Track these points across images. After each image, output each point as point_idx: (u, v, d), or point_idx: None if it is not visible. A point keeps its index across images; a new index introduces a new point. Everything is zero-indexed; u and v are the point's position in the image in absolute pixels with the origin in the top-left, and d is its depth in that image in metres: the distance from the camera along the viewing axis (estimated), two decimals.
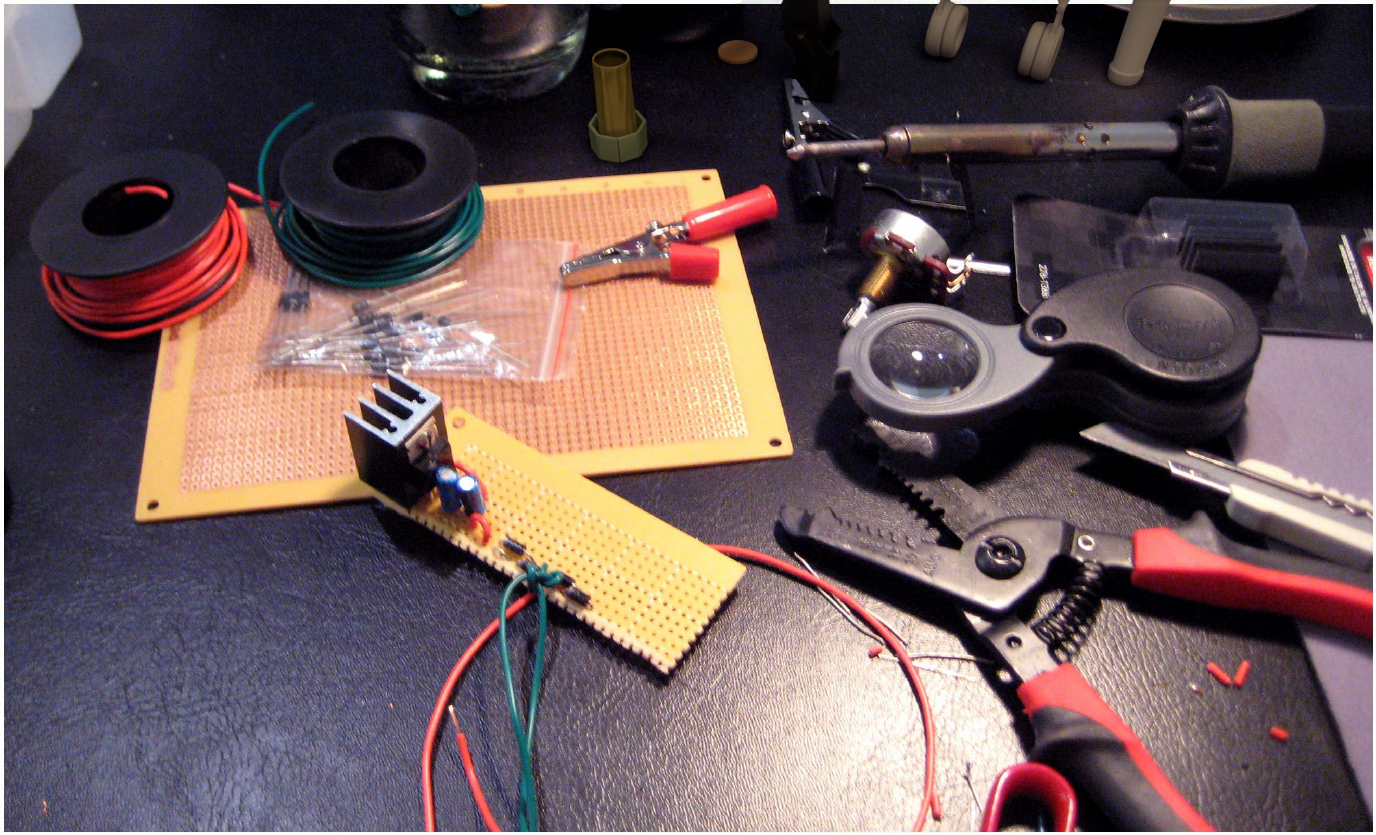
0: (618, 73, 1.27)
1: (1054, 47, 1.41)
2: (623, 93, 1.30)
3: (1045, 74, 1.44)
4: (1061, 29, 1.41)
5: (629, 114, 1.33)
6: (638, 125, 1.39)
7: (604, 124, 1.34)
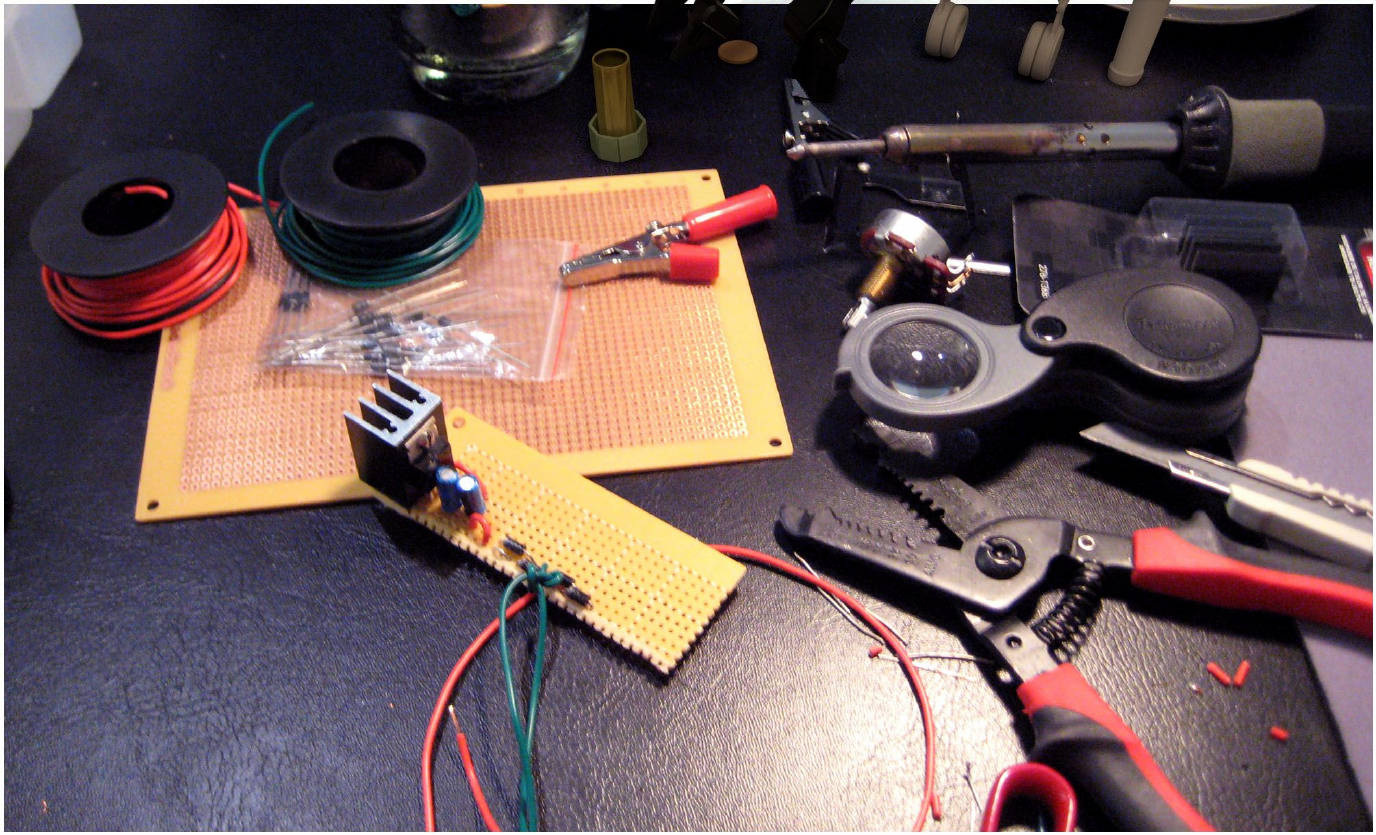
0: (618, 73, 1.27)
1: (1054, 47, 1.41)
2: (623, 93, 1.30)
3: (1045, 74, 1.44)
4: (1061, 29, 1.41)
5: (629, 114, 1.33)
6: (638, 125, 1.39)
7: (604, 124, 1.34)
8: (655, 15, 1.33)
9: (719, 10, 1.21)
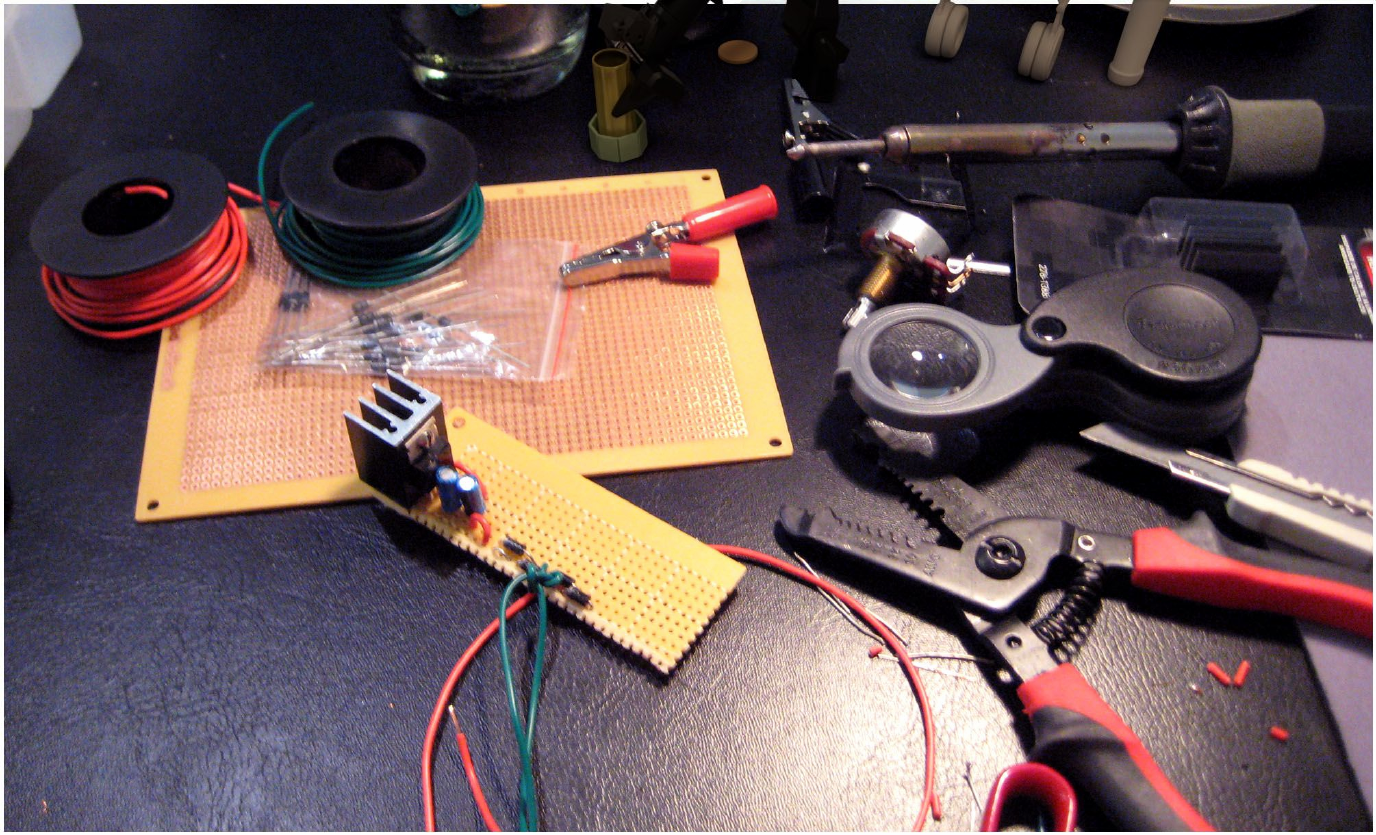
0: (618, 73, 1.27)
1: (1054, 47, 1.41)
2: None
3: (1045, 74, 1.44)
4: (1061, 29, 1.41)
5: (629, 114, 1.33)
6: (638, 125, 1.39)
7: (604, 124, 1.34)
8: None
9: (665, 77, 1.23)
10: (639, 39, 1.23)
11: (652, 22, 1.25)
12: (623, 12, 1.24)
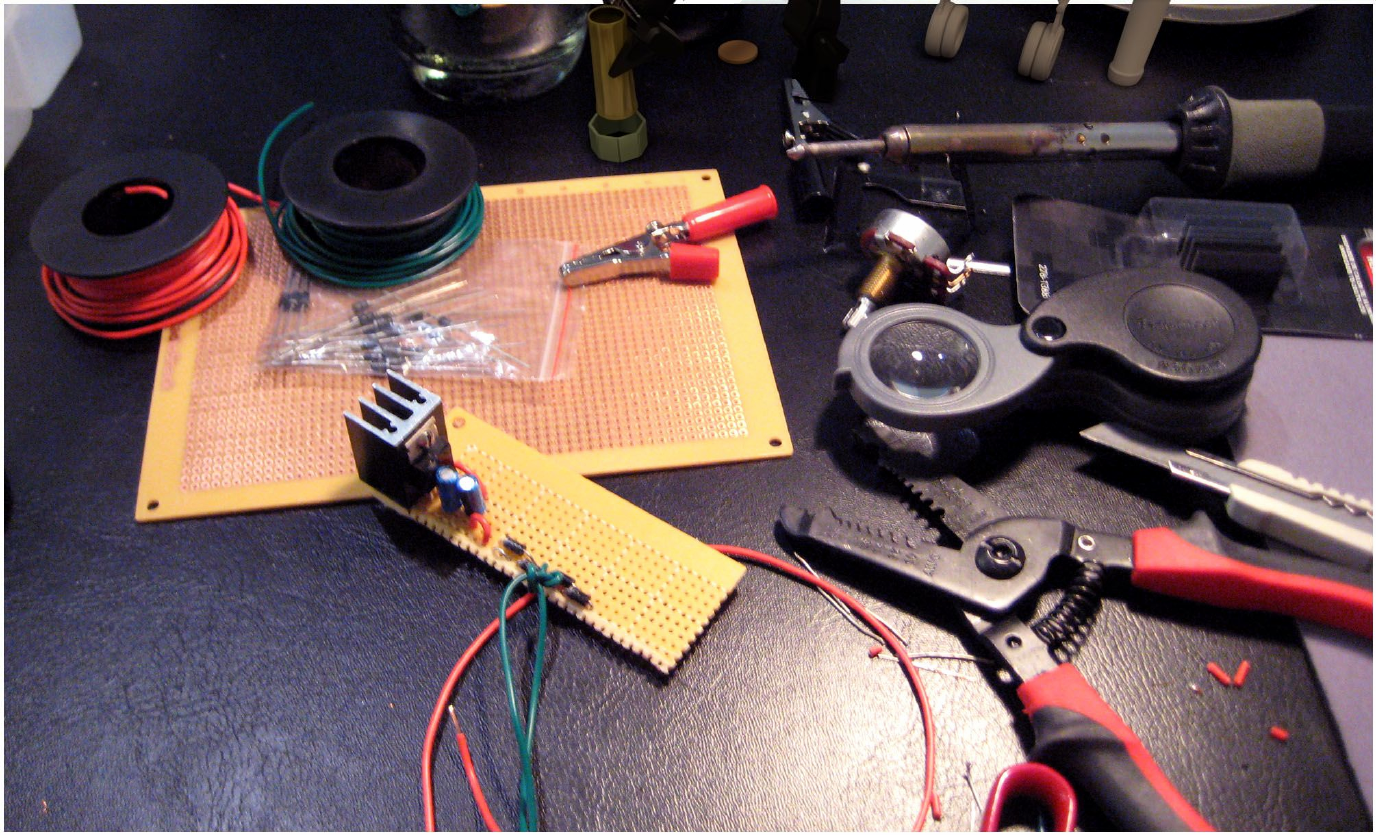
0: (614, 30, 1.23)
1: (1054, 47, 1.41)
2: None
3: (1045, 74, 1.44)
4: (1061, 29, 1.41)
5: (627, 74, 1.28)
6: (638, 125, 1.39)
7: (601, 85, 1.29)
8: None
9: (663, 32, 1.18)
10: None
11: None
12: None
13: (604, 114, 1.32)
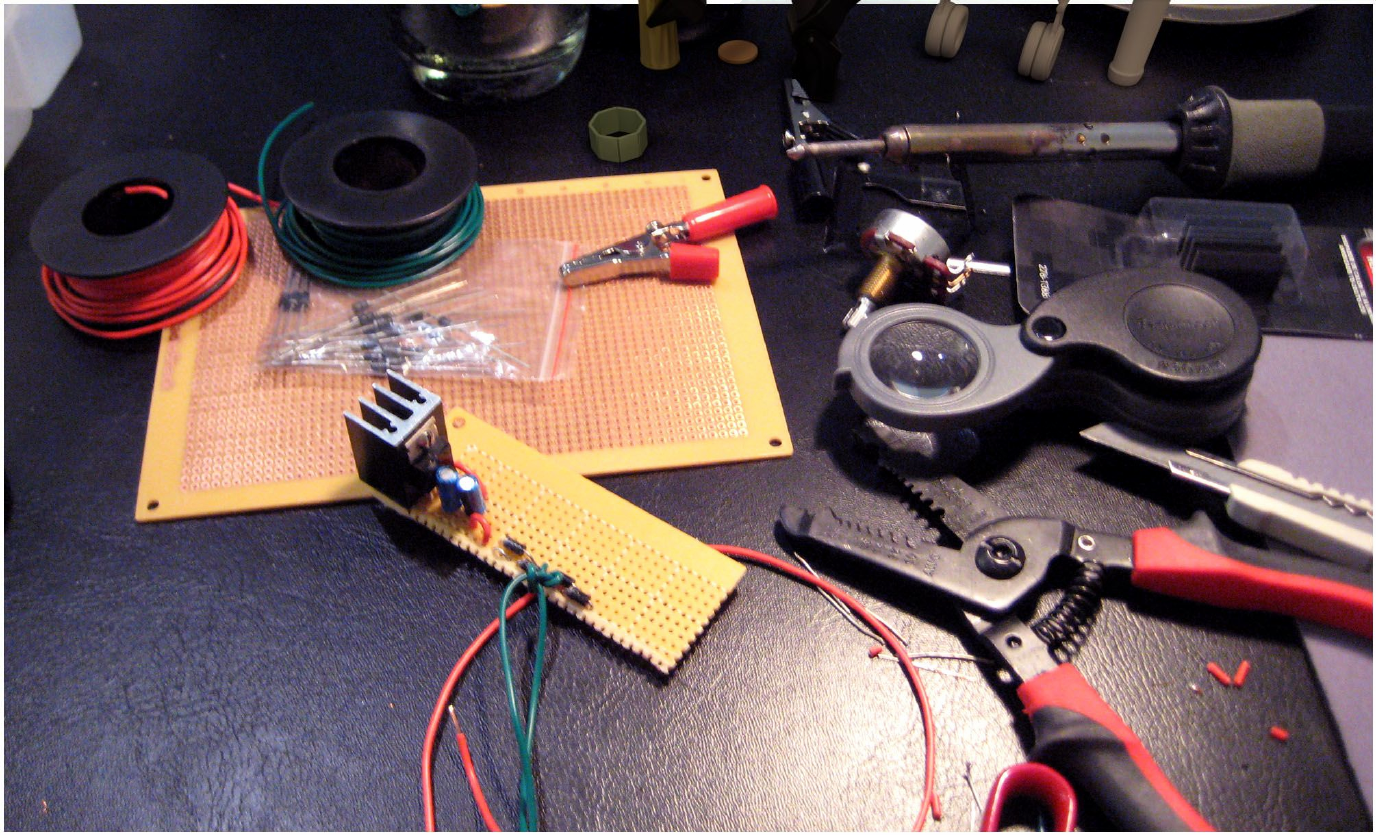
0: None
1: (1054, 47, 1.41)
2: None
3: (1045, 74, 1.44)
4: (1061, 29, 1.41)
5: (665, 27, 1.36)
6: (638, 125, 1.39)
7: (642, 33, 1.38)
8: None
9: None
10: None
11: None
12: None
13: (643, 61, 1.41)
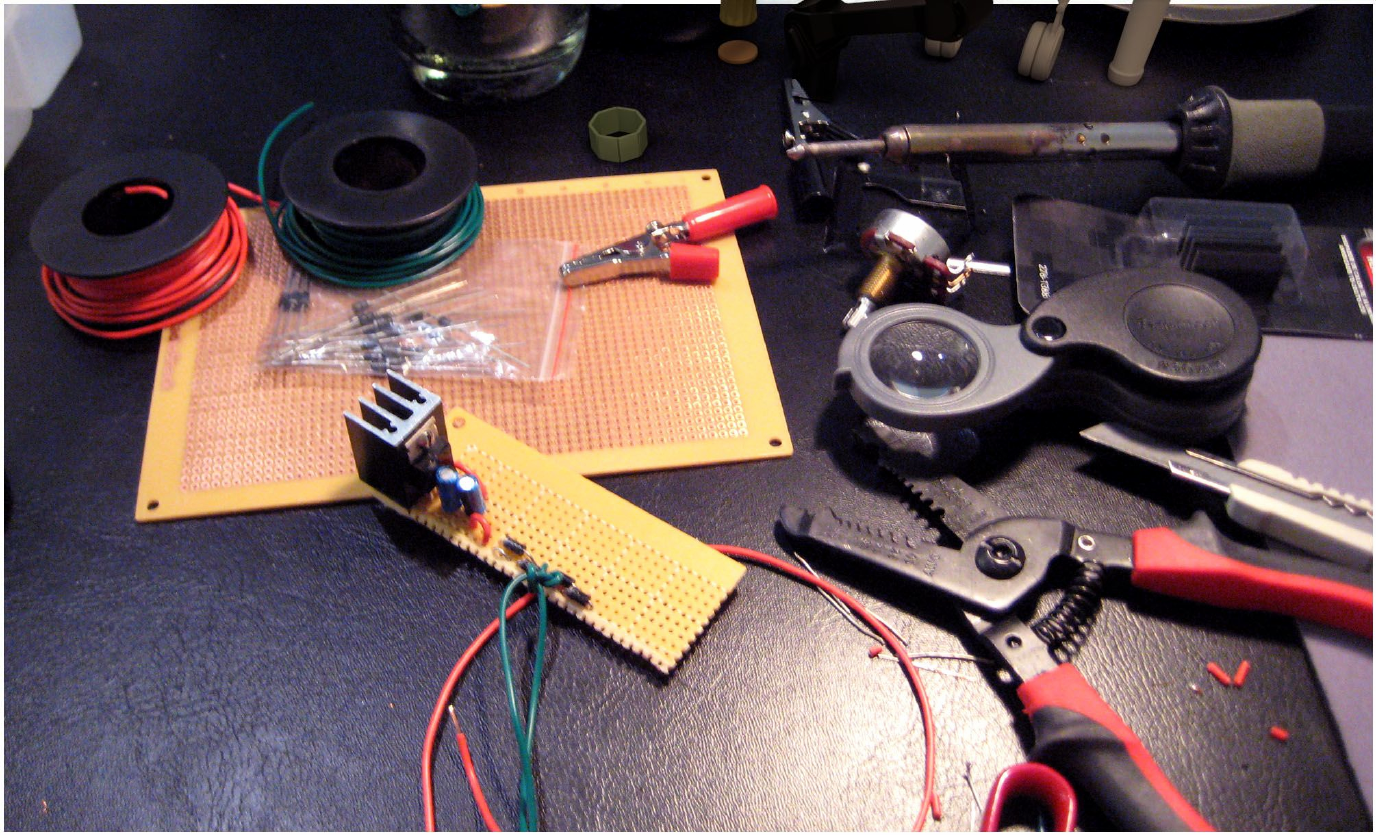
0: None
1: (1054, 47, 1.41)
2: None
3: (1045, 74, 1.44)
4: (1061, 29, 1.41)
5: None
6: (638, 125, 1.39)
7: None
8: None
9: None
10: None
11: None
12: None
13: None
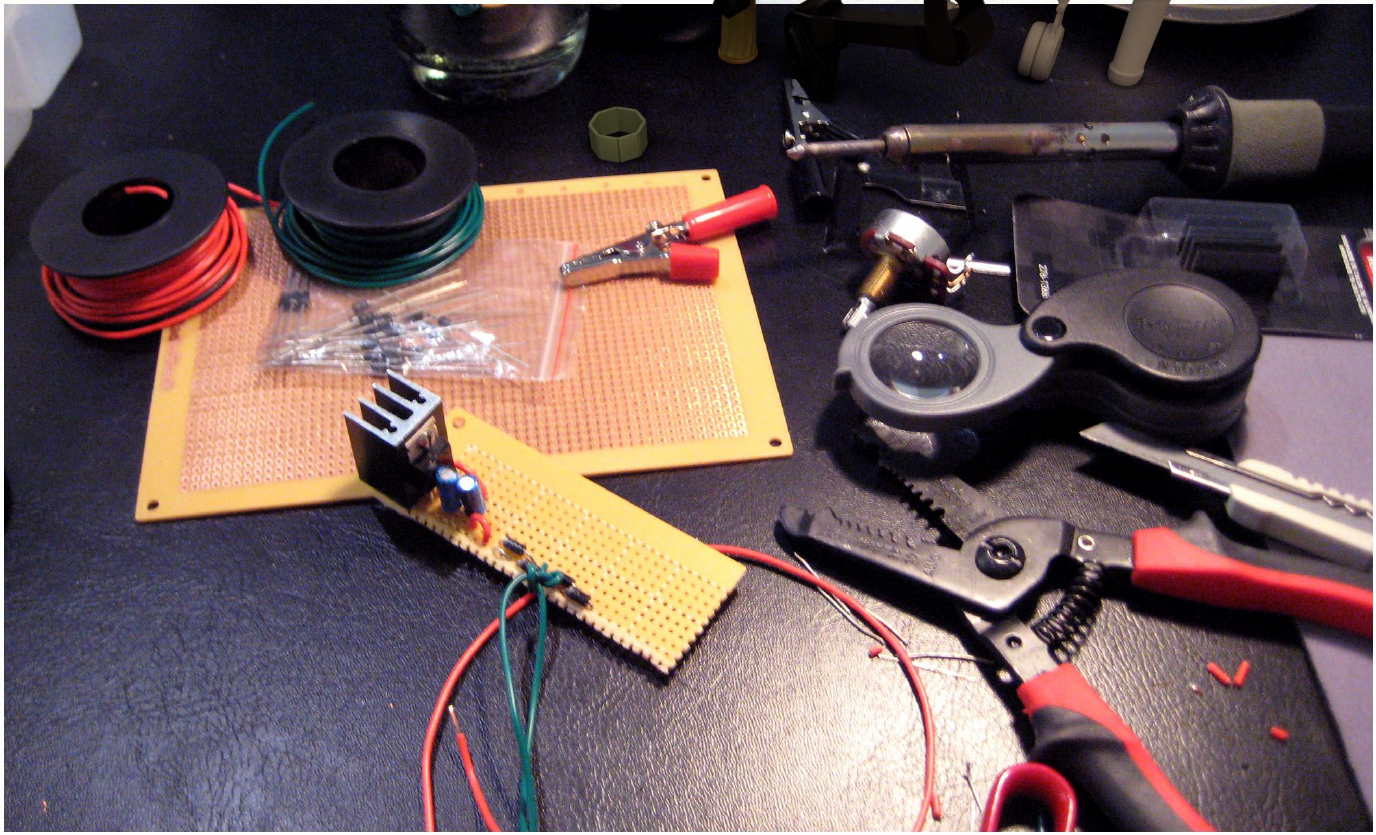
0: None
1: (1054, 47, 1.41)
2: None
3: (1045, 74, 1.44)
4: (1061, 29, 1.41)
5: (734, 21, 1.48)
6: (638, 125, 1.39)
7: None
8: None
9: None
10: None
11: None
12: None
13: (721, 45, 1.54)
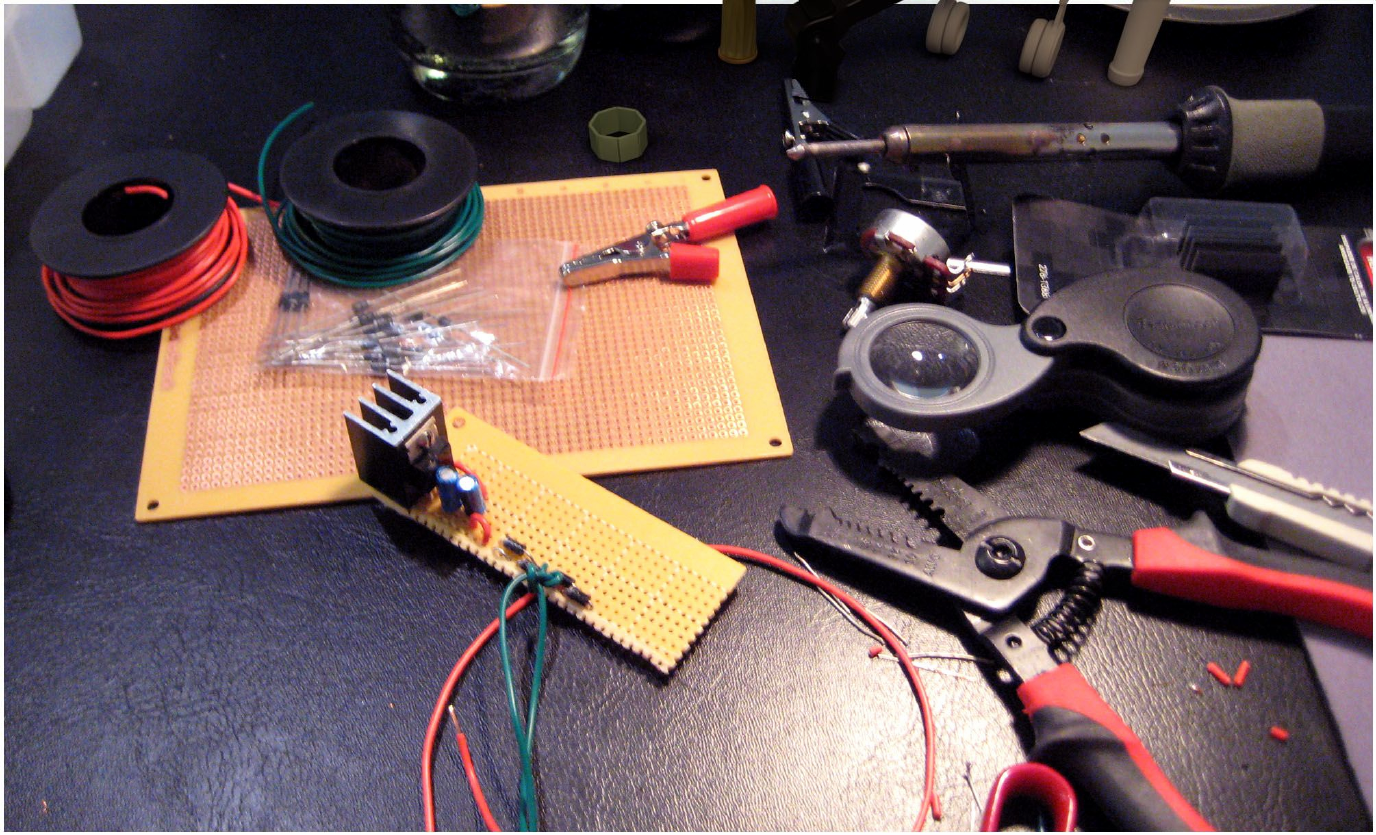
0: None
1: (1056, 41, 1.41)
2: None
3: (1046, 69, 1.43)
4: (1063, 25, 1.42)
5: (734, 21, 1.48)
6: (638, 125, 1.39)
7: None
8: None
9: None
10: None
11: None
12: None
13: (721, 45, 1.54)
